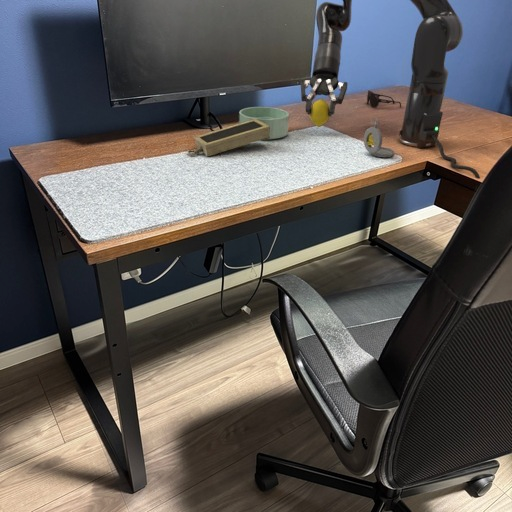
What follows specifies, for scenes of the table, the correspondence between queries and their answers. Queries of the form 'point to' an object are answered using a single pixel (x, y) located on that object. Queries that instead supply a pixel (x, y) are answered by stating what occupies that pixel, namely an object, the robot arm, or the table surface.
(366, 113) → the table surface
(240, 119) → the bowl
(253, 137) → the box
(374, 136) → the pocket watch
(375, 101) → the sunglasses
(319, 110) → the lemon
